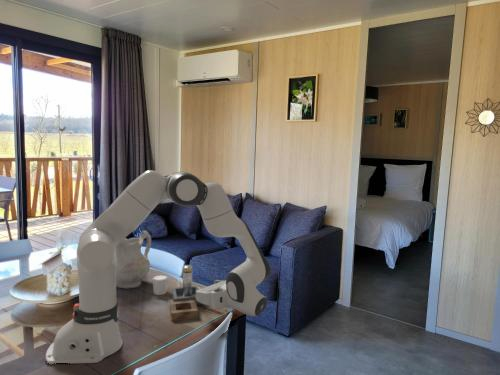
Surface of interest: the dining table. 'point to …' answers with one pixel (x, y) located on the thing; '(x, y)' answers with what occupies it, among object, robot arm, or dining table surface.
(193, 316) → the socket block
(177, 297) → the tray
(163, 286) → the shot glass
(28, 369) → the dining table surface
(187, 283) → the steel pin
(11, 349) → the dining table surface
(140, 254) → the ceramic pitcher
